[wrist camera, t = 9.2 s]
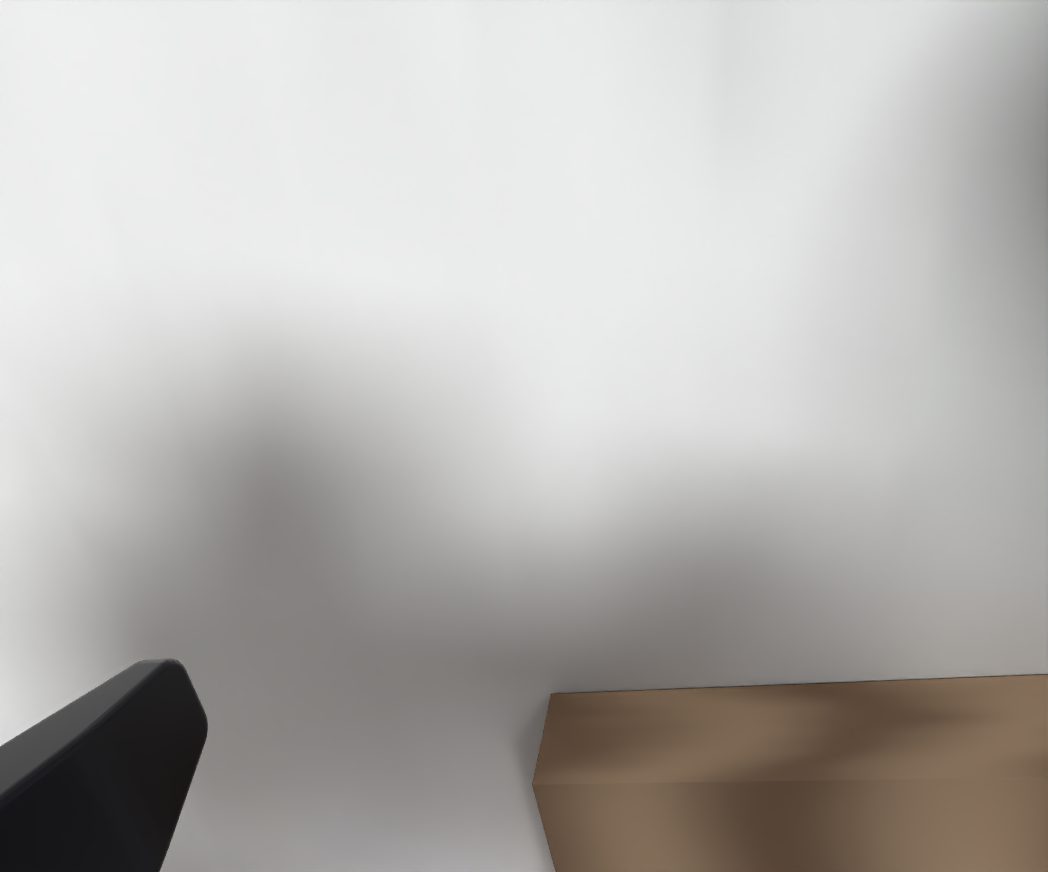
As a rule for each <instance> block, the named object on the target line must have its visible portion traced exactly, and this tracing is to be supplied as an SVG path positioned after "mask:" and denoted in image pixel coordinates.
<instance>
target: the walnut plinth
mask: <svg viewBox="0 0 1048 872" xmlns="http://www.w3.org/2000/svg"><path fill="white" fill-rule="evenodd" d="M532 785H533V789H534V793H535V797H536V800H537V804H538V808H539V812H540V815H541V819H542V823H543V826H544V830H545V834H546V838H547V841H548V845H549V849H550V853H551V856H552V860H553V864H554V868H555V871H556V872H1048V675H1025V676H1000V677H974V678H949V679H923V680H898V681H872V682H847V683H822V684H796V685H771V686H745V687H720V688H694V689H669V690H643V691H618V692H592V693H567V694H551V697H550V702H549V707H548V712H547V716H546V721H545V726H544V731H543V736H542V741H541V745H540V750H539V755H538V760H537V765H536V769H535V774H534V779H533V784H532Z"/></svg>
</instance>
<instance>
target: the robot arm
mask: <svg viewBox="0 0 1048 872" xmlns="http://www.w3.org/2000/svg"><path fill="white" fill-rule="evenodd" d="M207 731H208V723H207V717H206V714H205V711H204V709H203V707H202V704H201V702H200V700H199V698H198V696H197V693H196V691H195V689H194V687H193V684H192V682H191V680H190V678H189V675H188V673H187V671H186V669H185V667H184V666H183V665H182V664H181V663H180V662H179V661H178V660H174V659H155V660H144V661H140V662H138V663H136V664H134V665H132V666H131V667H129V668H127V669H126V670H124V671H122V672H121V673H119V674H118V675H116V676H114V677H113V678H111V679H109V680H108V681H106V682H105V683H103V684H101V685H100V686H98V687H96V688H95V689H93V690H91V691H90V692H88V693H87V694H85V695H83V696H82V697H80V698H78V699H77V700H75V701H73V702H72V703H70V704H69V705H67V706H65V707H64V708H62V709H60V710H59V711H57V712H56V713H54V714H52V715H51V716H49V717H47V718H46V719H44V720H42V721H41V722H39V723H38V724H36V725H34V726H33V727H31V728H29V729H28V730H26V731H24V732H23V733H21V734H20V735H18V736H16V737H15V738H13V739H11V740H10V741H8V742H7V743H5V744H3V745H2V746H0V872H160V869H161V867H162V864H163V861H164V859H165V856H166V853H167V851H168V848H169V845H170V842H171V839H172V836H173V833H174V831H175V828H176V825H177V822H178V819H179V816H180V813H181V810H182V808H183V805H184V802H185V799H186V796H187V793H188V790H189V787H190V784H191V782H192V779H193V776H194V773H195V770H196V767H197V764H198V761H199V759H200V756H201V753H202V750H203V747H204V744H205V741H206V737H207Z"/></svg>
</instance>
